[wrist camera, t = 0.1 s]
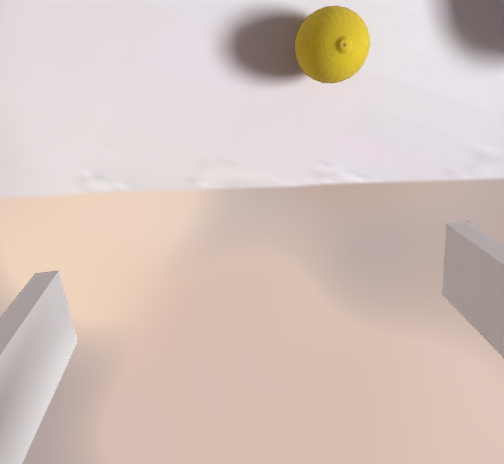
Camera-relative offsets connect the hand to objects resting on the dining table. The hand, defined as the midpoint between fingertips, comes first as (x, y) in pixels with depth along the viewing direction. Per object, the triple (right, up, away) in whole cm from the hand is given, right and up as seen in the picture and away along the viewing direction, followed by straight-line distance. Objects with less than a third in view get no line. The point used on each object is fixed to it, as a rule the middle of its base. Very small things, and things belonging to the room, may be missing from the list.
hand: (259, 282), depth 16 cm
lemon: (+5, +18, +24) cm, 30 cm away
